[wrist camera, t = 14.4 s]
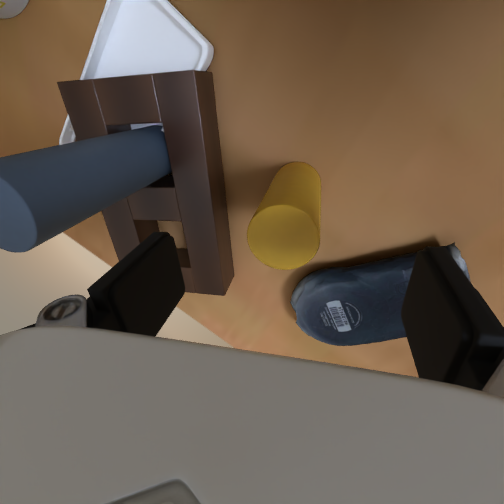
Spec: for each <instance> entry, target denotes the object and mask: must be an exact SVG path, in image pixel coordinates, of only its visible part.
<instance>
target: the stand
mask: <svg viewBox="0 0 504 504" xmlns="http://www.w3.org/2000/svg"><path fill="white" fill-rule="evenodd" d="M57 84H58V87H59V90H60V92H61V95H62V98H63V101H64V104H65V107H66V110H67V113H68V115H69V118H70V121H71V124H72V127H73V130H74V133H75V136H76V139H77V141H81V140H86V139H90V138H95V137H100V136H104V135H109V134H114V133H119V132H123V131H128V130H132V129H131V125H130V124H147V123H162V124H163V129H164V134H165V139H166V144H167V149H168V154H169V159H170V164H171V169H172V174H173V176H164V177H162V178H160V179H158V180H156V181H155V182H153V183H151V184H149V185H147V186H145V187H144V188H142V189H140V190H138V191H136V192H135V193H133V194H131V195H129V196H127V197H125V198H124V199H122V200H120V201H118V202H116V203H114V204H113V205H111V206H109V207H107V208H105V209H104V210H102V214H103V216H104V219H105V222H106V225H107V228H108V231H109V234H110V237H111V240H112V242H113V245H114V248H115V251H116V254H117V257H118V260H119V261H121V260H122V259H123V258H124V257H125V256H126V255H127V254H129V253H130V252H131V251H132V250H133V249H134V248H136V247H137V246H138V245H139V244H140V243H141V242H143V241H144V240H145V239H146V238H147V237H148V236H149V235H151V234H152V233H153V232H159V228H158V224H157V220H158V221H182V225H183V230H184V235H185V240H186V245H187V249H177V248H176V250H177V254H178V258H179V262H180V267H181V271H182V275H183V279H184V284H185V292H190V293H200V294H211V295H221V296H225V294H226V292H227V290H228V288H229V285H230V283H231V281H232V279H233V277H234V269H233V260H232V251H231V242H230V233H229V223H228V214H227V205H226V196H225V187H224V178H223V169H222V159H221V150H220V141H219V132H218V123H217V114H216V105H215V95H214V86H213V77H212V73H211V72H205V71H199V70H184V71H173V72H162V73H153V74H141V75H130V76H119V77H108V78H97V79H86V80H75V81H64V82H57Z"/></svg>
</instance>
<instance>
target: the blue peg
mask: <svg viewBox="0 0 504 504" xmlns="http://www.w3.org/2000/svg"><path fill="white" fill-rule="evenodd" d="M162 127H163V126H161V125H152V126H147V127H142V128H138V129H133V130H128V131H123V132H119V133H114V134H109V135H104V136H100V137H95V138H90V139H86V140H81V141H76V142H71V143H67V144H62V145H57V146H53V147H48V148H43V149H38V150H34V151H29V152H24V153H19V154H15V155H10V156H5V157H1V158H0V248H1V249H4V250H7V251H10V252H26V251H28V250H30V249H32V248H34V247H36V246H38V245H40V244H42V243H43V242H45V241H47V240H48V239H51V238H52V237H54V236H56V235H58V234H60V233H62V232H63V231H65V230H67V229H69V228H71V227H73V226H74V225H76V224H78V223H80V222H82V221H83V220H85V219H87V218H89V217H91V216H93V215H94V214H96V213H98V212H100V211H102V210H104V209H105V208H107V207H109V206H111V205H113V204H114V203H116V202H118V201H120V200H122V199H124V198H125V197H127V196H129V195H131V194H133V193H135V192H136V191H138V190H140V189H142V188H144V187H145V186H147V185H149V184H151V183H153V182H155V181H156V180H158V179H160V178H162V177H164V176H166V175H167V174H169V173H171V172H172V169H171V164H170V159H169V154H168V149H167V144H166V139H165V134H164V132H163V131H161V129H162Z"/></svg>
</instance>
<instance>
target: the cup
mask: <svg viewBox="0 0 504 504" xmlns="http://www.w3.org/2000/svg"><path fill="white" fill-rule="evenodd" d="M28 1H29V0H0V18H4V19H5V18H12V17H15V16H17V15H18V14H20V13H21V12H22V11H23V10H24V8H25V7H26V5H27V3H28Z"/></svg>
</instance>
